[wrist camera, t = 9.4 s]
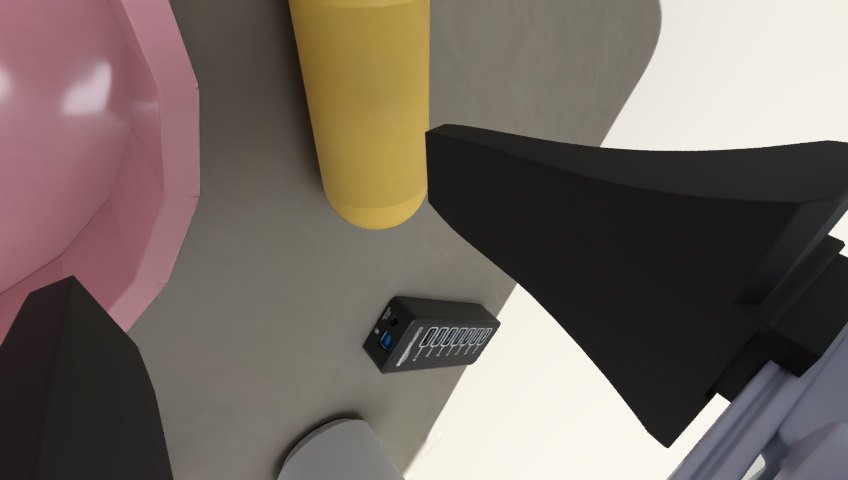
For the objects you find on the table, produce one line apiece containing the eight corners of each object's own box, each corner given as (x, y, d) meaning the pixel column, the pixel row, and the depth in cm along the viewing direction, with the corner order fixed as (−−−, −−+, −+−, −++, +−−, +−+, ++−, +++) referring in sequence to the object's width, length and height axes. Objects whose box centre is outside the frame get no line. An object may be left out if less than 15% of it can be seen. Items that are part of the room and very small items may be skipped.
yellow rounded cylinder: (395, 181, 21) (447, 226, 19) (314, 211, 19) (359, 266, 17) (378, -144, 13) (465, -149, 11) (238, -147, 11) (300, -155, 9)
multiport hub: (456, 346, 36) (474, 365, 34) (360, 350, 28) (379, 375, 26) (483, 304, 35) (503, 322, 33) (393, 295, 27) (414, 319, 25)
